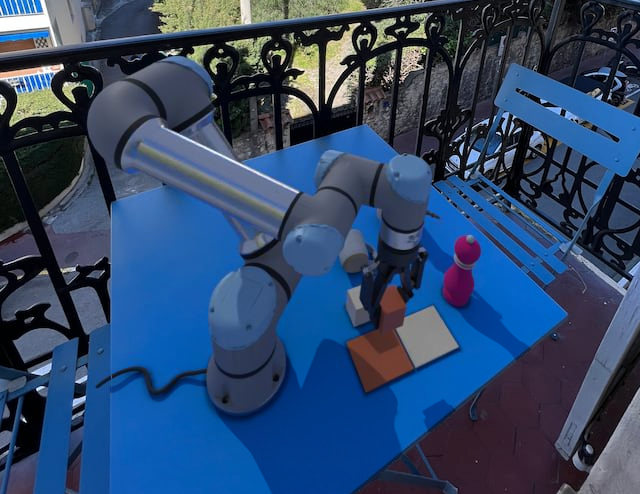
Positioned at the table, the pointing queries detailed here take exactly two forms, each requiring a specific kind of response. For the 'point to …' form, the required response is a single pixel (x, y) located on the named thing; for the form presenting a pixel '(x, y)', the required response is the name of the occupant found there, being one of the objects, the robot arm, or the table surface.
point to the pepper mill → (461, 271)
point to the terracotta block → (391, 310)
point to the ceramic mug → (355, 252)
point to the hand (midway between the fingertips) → (386, 317)
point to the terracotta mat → (378, 358)
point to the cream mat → (426, 336)
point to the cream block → (356, 307)
